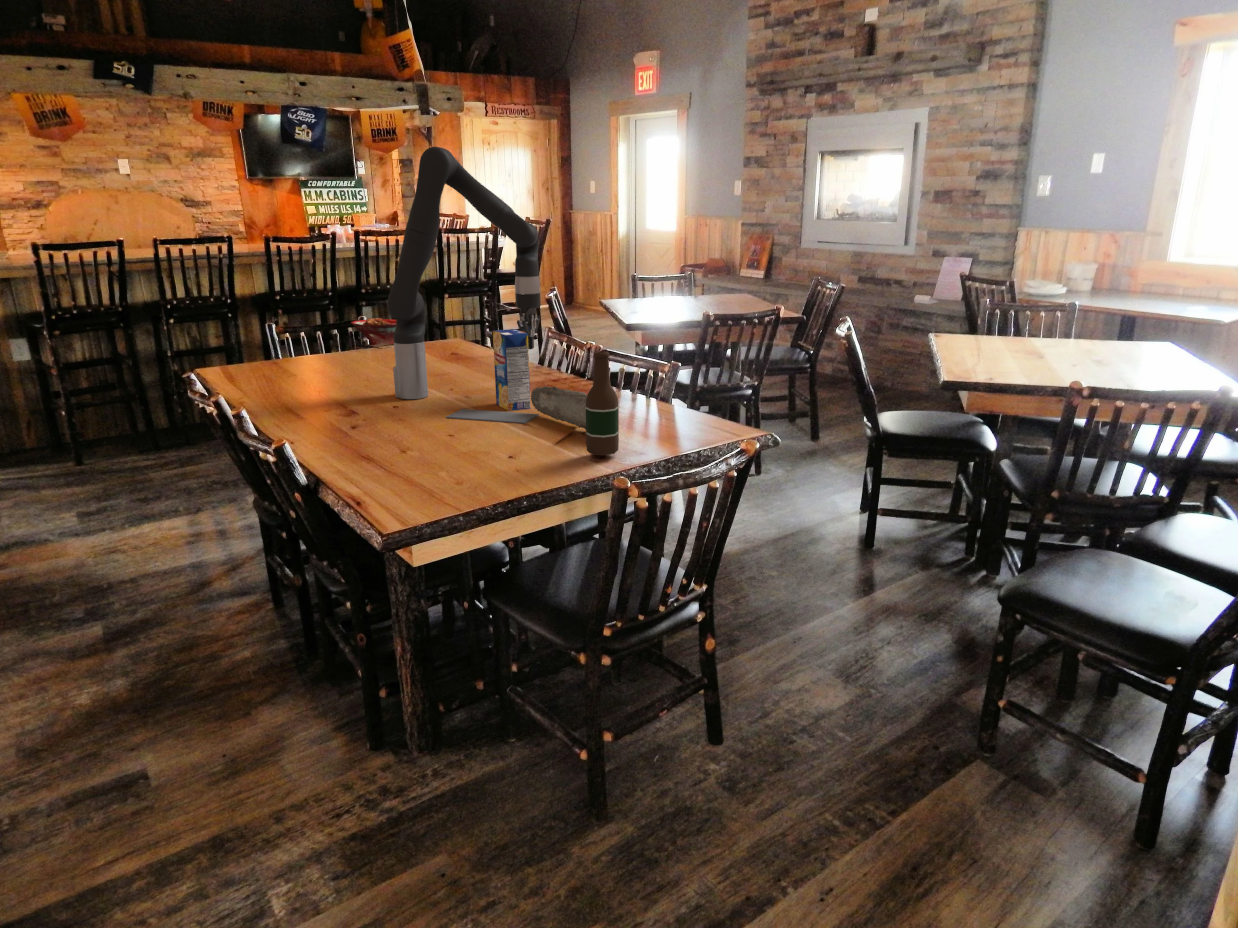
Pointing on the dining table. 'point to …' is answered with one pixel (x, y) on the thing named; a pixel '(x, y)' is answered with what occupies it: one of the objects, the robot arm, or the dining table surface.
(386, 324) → the stew
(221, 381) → the dining table surface
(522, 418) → the mat
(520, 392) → the beverage box
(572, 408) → the elongated rock
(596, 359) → the beer bottle
